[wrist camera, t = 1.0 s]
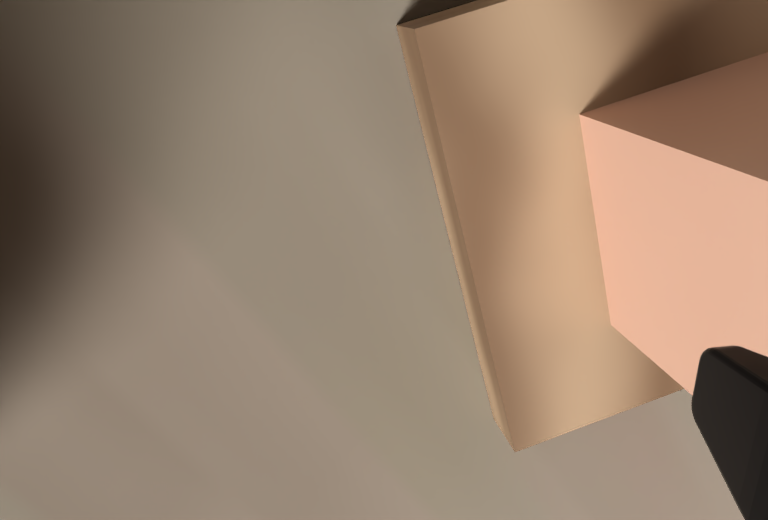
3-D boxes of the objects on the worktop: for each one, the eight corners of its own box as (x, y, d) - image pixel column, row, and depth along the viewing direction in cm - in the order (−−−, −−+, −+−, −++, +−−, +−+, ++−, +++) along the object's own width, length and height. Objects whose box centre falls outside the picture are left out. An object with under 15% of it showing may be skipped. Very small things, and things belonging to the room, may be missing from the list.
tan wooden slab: (493, 418, 25) (514, 452, 23) (396, 25, 19) (414, 29, 18) (788, 309, 26) (830, 333, 24) (777, -93, 21) (831, -101, 19)
